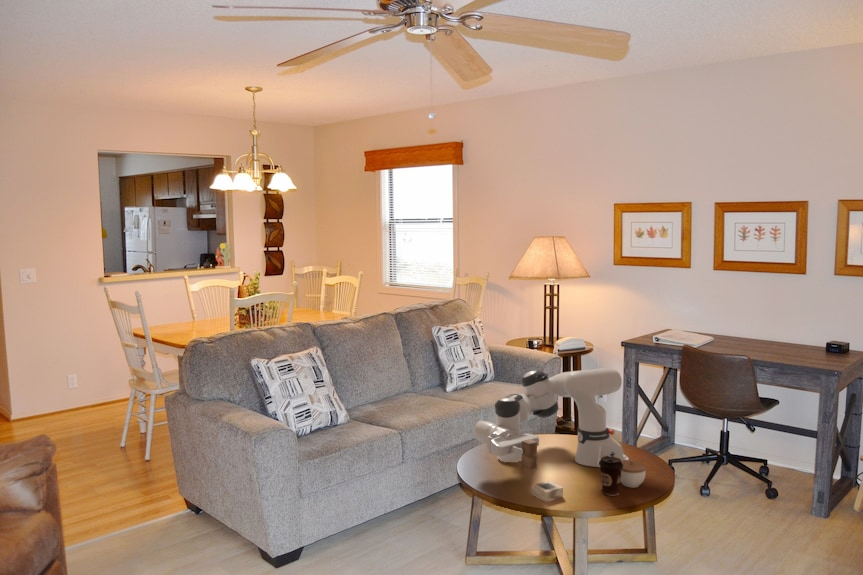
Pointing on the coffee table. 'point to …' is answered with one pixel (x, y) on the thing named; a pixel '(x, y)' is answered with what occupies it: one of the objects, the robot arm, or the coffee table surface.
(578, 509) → the coffee table surface
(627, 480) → the lidded jar
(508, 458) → the teardrop
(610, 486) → the coffee cup
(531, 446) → the walnut pillar
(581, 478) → the coffee table surface
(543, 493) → the birch plinth
